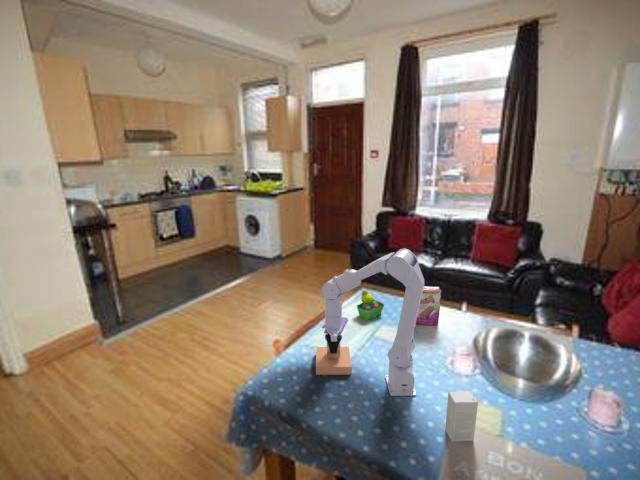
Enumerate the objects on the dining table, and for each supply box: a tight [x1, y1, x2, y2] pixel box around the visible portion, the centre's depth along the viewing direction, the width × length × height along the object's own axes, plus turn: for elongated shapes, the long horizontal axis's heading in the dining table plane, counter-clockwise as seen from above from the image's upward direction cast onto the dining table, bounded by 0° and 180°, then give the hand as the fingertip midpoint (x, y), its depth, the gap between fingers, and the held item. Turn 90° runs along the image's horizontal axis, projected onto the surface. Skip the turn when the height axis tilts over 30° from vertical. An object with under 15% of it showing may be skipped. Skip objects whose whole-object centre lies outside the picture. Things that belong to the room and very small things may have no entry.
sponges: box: [324, 316, 349, 335], centre depth 144 cm, size 7×13×2 cm, turn 162°
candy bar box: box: [415, 285, 442, 327], centre depth 144 cm, size 11×5×16 cm, turn 84°
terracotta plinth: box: [315, 346, 353, 376], centre depth 117 cm, size 12×12×3 cm
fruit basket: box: [356, 289, 385, 320], centre depth 152 cm, size 11×9×11 cm
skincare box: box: [444, 390, 479, 443], centre depth 86 cm, size 6×4×12 cm
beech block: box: [326, 341, 341, 358], centre depth 116 cm, size 4×4×6 cm
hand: (333, 348), depth 116 cm, fingers closed on beech block, 4 cm apart
